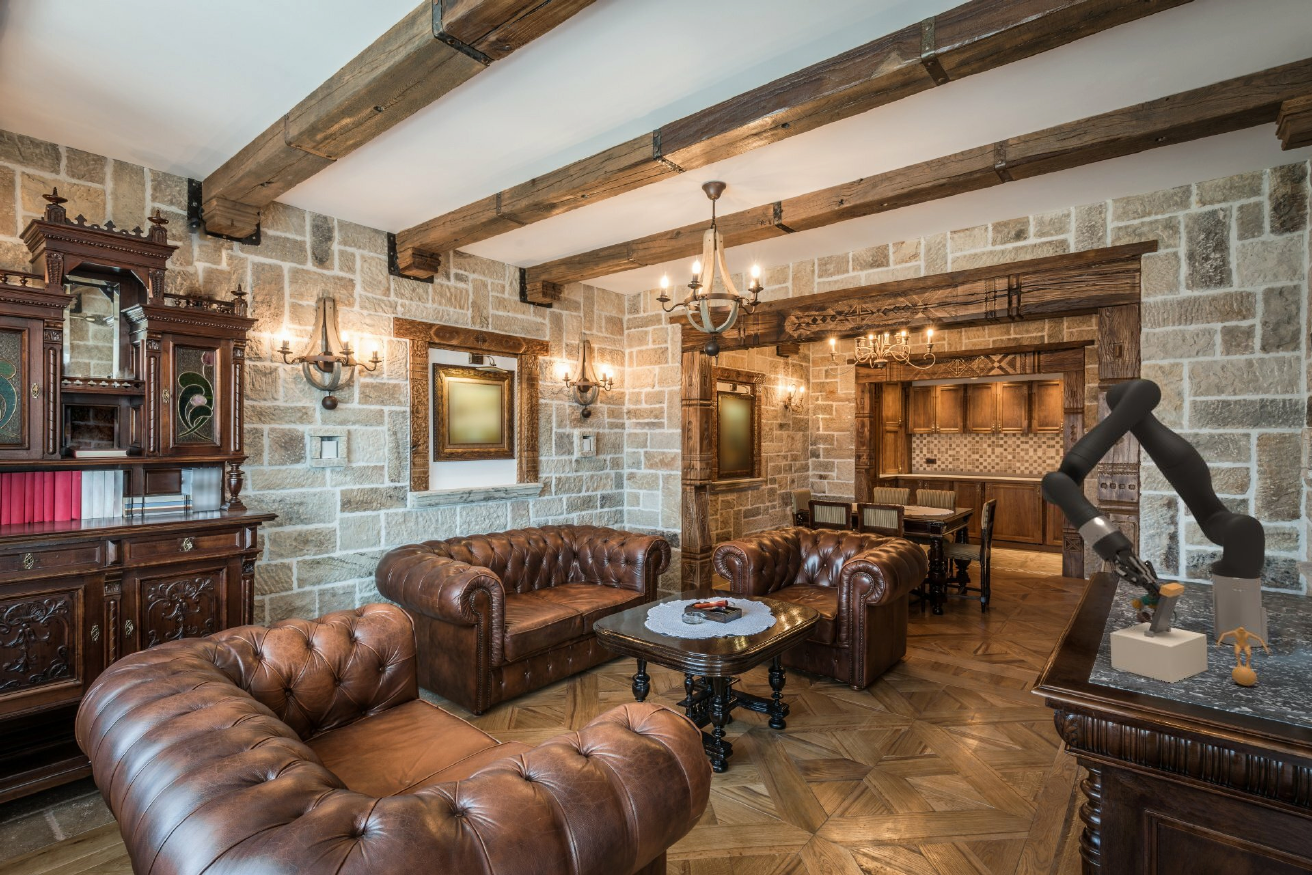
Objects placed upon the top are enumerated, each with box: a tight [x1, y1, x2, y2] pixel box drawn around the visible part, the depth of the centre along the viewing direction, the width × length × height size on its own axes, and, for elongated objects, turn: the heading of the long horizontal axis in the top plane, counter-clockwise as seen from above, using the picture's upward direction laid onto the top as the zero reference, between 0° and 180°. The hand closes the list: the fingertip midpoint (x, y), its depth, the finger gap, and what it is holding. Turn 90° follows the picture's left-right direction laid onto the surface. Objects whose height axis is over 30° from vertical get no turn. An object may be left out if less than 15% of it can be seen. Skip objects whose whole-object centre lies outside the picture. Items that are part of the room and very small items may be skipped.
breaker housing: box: [1110, 622, 1209, 684], centre depth 146 cm, size 12×16×9 cm
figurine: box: [1216, 627, 1270, 687], centre depth 136 cm, size 8×6×12 cm
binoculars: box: [1131, 592, 1178, 627], centre depth 178 cm, size 9×9×10 cm
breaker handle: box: [1149, 582, 1186, 634], centre depth 144 cm, size 2×6×12 cm, turn 118°
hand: (1163, 599), depth 145 cm, fingers closed
